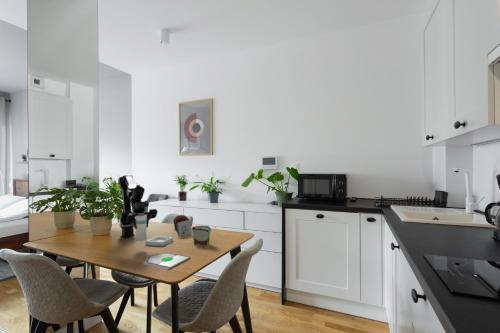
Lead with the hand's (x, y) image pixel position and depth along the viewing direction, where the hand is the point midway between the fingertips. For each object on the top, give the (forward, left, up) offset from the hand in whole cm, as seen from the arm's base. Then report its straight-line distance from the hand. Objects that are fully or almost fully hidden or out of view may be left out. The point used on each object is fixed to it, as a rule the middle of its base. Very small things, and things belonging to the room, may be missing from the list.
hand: (141, 227), depth 135 cm
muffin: (-4, +48, -12) cm, 50 cm away
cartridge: (-1, +1, -7) cm, 7 cm away
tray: (+1, +15, -12) cm, 19 cm away
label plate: (+13, +34, -12) cm, 38 cm away
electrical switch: (+6, +34, -12) cm, 37 cm away
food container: (+27, +20, -12) cm, 36 cm away
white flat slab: (+19, -9, -13) cm, 25 cm away
